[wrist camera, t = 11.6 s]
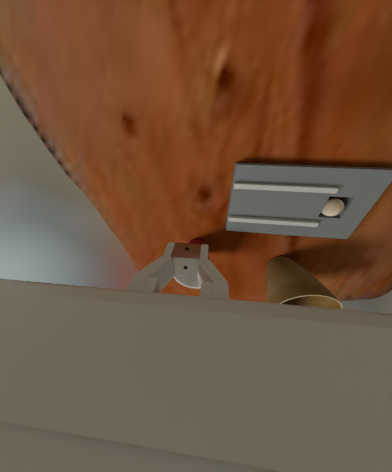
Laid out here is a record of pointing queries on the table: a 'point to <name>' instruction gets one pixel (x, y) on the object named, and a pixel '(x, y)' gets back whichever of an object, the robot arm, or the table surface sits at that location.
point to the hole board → (302, 198)
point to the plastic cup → (189, 280)
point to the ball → (333, 207)
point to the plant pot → (296, 286)
